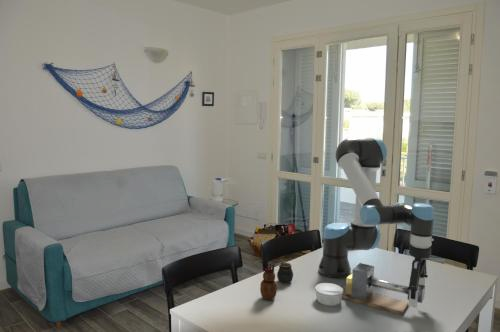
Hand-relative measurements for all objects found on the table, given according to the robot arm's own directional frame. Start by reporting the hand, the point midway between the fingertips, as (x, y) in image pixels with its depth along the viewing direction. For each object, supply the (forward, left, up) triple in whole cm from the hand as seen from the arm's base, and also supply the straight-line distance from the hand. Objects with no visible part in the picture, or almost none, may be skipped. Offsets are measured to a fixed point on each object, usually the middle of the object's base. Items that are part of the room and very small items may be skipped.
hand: (416, 299), depth 149 cm
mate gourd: (-55, -4, -5) cm, 55 cm away
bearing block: (-21, 0, -4) cm, 21 cm away
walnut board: (-17, 0, -5) cm, 18 cm away
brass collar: (-25, 0, 0) cm, 25 cm away
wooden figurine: (-52, -23, -5) cm, 57 cm away
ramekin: (-31, -10, -5) cm, 33 cm away
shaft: (-10, 0, 0) cm, 10 cm away
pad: (-26, 0, -4) cm, 27 cm away
